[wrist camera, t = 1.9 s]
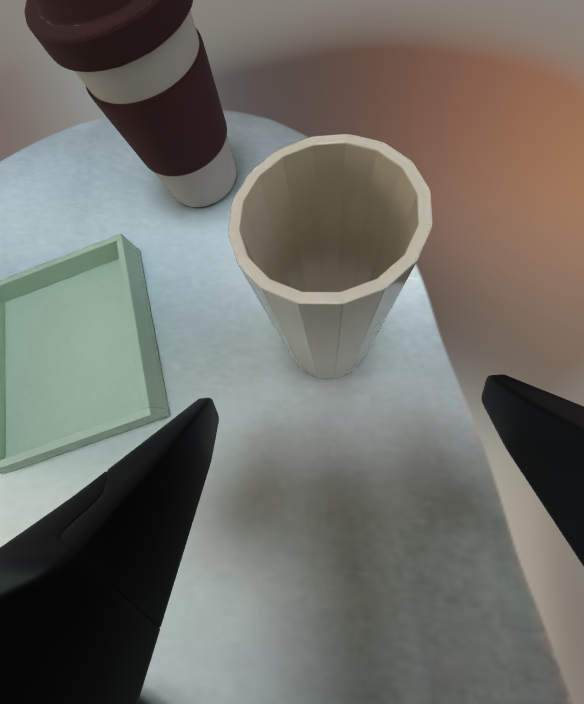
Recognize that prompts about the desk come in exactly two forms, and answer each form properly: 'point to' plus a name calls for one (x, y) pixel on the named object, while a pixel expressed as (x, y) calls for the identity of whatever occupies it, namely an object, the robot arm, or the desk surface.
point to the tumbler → (330, 243)
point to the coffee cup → (146, 85)
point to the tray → (76, 354)
